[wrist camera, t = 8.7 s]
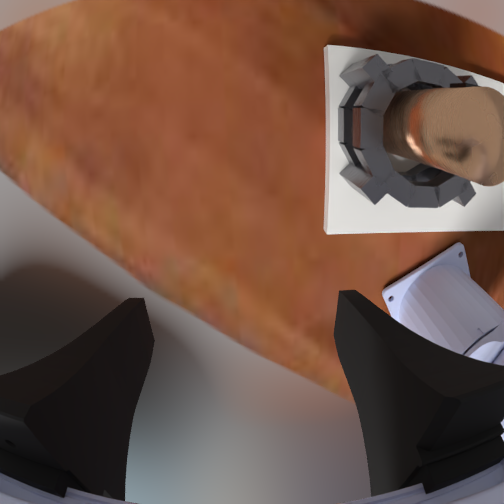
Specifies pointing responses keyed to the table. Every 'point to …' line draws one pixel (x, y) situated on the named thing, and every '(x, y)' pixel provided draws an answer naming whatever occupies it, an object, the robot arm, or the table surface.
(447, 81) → the collar stand
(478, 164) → the tube
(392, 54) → the base board
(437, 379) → the robot arm
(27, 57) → the table surface
